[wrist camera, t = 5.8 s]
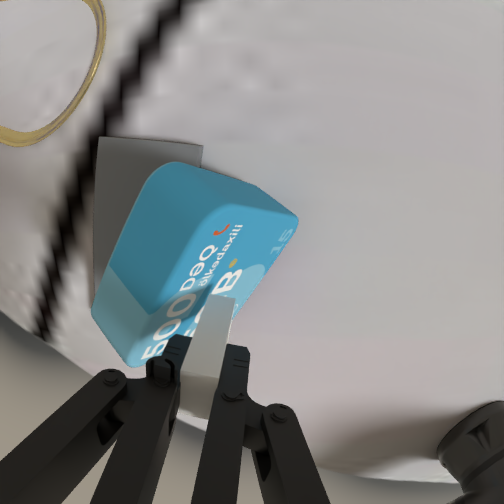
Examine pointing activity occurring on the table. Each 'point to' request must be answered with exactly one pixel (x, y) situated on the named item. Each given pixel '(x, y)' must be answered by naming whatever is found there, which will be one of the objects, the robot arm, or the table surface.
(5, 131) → the tan oval ring
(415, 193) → the table surface
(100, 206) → the rubber pad
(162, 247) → the data package
